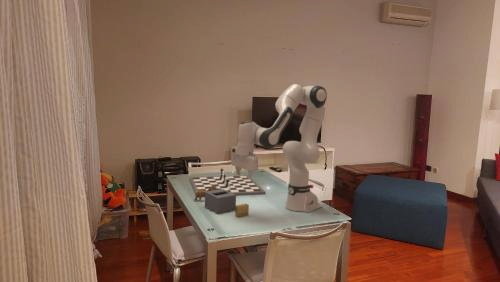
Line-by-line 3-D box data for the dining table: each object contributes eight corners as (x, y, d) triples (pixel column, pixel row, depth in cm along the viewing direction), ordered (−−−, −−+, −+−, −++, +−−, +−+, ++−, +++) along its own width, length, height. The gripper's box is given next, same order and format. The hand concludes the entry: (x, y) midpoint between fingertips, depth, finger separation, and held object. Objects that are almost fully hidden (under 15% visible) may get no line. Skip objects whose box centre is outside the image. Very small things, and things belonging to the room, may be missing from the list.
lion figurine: (215, 198, 227) (215, 184, 225) (218, 200, 222) (218, 186, 221) (192, 200, 220) (192, 186, 219) (194, 203, 215) (195, 188, 214)
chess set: (189, 180, 270) (189, 165, 268) (247, 178, 282) (248, 164, 280) (196, 198, 227) (197, 181, 225) (265, 195, 239) (266, 178, 237)
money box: (222, 203, 217) (222, 188, 215) (235, 210, 206) (236, 194, 204) (204, 206, 210) (205, 191, 208) (217, 214, 198) (217, 198, 197)
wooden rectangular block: (245, 214, 200) (246, 203, 200) (248, 215, 198) (248, 204, 198) (235, 216, 196) (235, 205, 195) (237, 217, 194) (238, 206, 193)
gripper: (262, 154, 186) (260, 180, 187) (239, 148, 202) (237, 172, 203) (252, 154, 182) (250, 181, 184) (229, 148, 198) (228, 173, 200)
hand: (243, 176), depth 194 cm, fingers open, 8 cm apart
